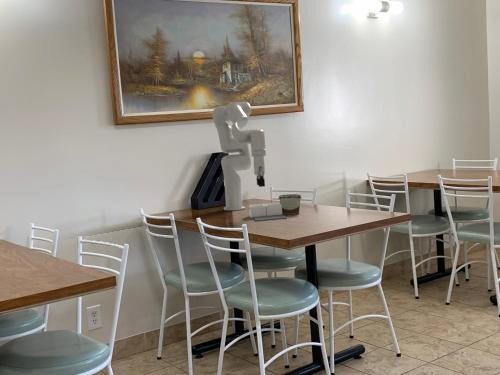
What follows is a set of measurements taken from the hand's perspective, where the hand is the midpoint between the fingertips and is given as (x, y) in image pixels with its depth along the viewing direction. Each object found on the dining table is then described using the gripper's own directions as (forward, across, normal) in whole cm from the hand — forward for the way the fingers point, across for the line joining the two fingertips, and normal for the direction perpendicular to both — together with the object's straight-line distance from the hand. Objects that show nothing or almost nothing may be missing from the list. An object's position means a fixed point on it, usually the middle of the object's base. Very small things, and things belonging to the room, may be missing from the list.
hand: (260, 185), depth 335 cm
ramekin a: (+16, 0, -3) cm, 17 cm away
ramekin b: (+16, -1, +6) cm, 17 cm away
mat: (+16, +7, +2) cm, 18 cm away
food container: (+16, -2, +15) cm, 22 cm away
